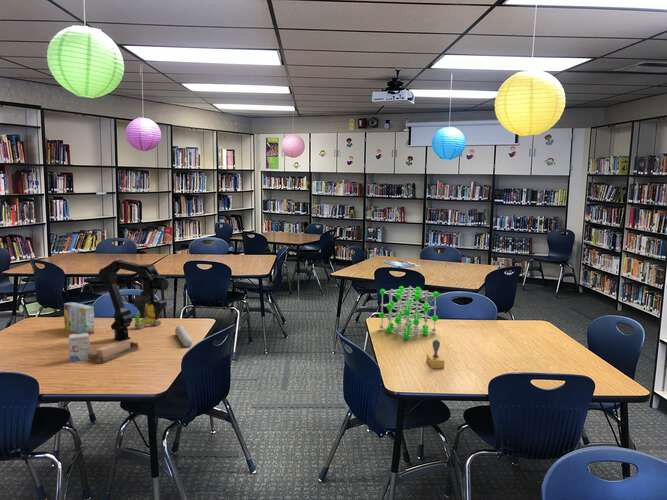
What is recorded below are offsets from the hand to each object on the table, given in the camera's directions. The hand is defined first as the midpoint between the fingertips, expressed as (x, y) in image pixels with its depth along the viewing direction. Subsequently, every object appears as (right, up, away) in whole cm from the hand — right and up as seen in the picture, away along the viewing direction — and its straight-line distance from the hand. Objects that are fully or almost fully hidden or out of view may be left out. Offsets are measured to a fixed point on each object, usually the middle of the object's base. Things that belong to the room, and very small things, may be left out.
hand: (149, 318), depth 267 cm
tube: (+16, -13, +6) cm, 22 cm away
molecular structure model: (+138, -11, +28) cm, 141 cm away
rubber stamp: (+143, -19, -24) cm, 146 cm away
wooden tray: (-11, -15, -17) cm, 26 cm away
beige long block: (-11, -14, -18) cm, 25 cm away
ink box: (-24, -16, -23) cm, 38 cm away
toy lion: (-11, -9, +31) cm, 34 cm away
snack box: (-46, -10, +21) cm, 52 cm away
